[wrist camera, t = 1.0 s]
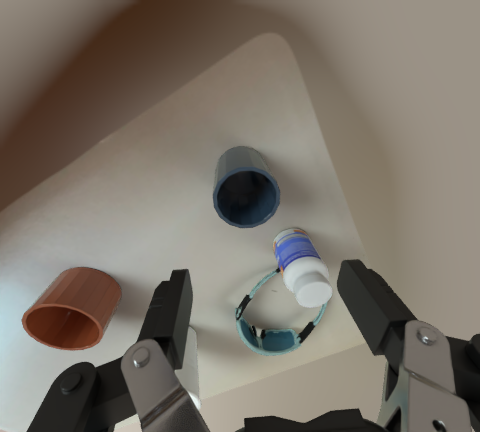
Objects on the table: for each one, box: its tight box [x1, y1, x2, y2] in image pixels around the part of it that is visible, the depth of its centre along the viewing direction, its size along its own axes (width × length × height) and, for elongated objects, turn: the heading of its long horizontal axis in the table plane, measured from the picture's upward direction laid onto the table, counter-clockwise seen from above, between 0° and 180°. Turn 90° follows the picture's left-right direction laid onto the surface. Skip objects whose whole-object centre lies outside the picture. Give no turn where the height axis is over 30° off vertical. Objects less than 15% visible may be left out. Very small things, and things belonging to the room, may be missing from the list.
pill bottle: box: [273, 228, 333, 308], centre depth 29 cm, size 5×5×10 cm
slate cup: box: [213, 146, 280, 228], centre depth 24 cm, size 6×6×8 cm
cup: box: [137, 326, 201, 415], centre depth 37 cm, size 10×10×11 cm
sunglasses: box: [235, 268, 327, 356], centre depth 38 cm, size 14×15×5 cm
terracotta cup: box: [22, 267, 122, 351], centre depth 32 cm, size 10×10×6 cm
